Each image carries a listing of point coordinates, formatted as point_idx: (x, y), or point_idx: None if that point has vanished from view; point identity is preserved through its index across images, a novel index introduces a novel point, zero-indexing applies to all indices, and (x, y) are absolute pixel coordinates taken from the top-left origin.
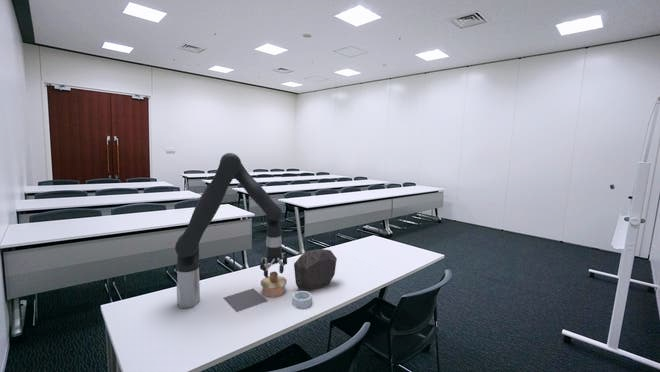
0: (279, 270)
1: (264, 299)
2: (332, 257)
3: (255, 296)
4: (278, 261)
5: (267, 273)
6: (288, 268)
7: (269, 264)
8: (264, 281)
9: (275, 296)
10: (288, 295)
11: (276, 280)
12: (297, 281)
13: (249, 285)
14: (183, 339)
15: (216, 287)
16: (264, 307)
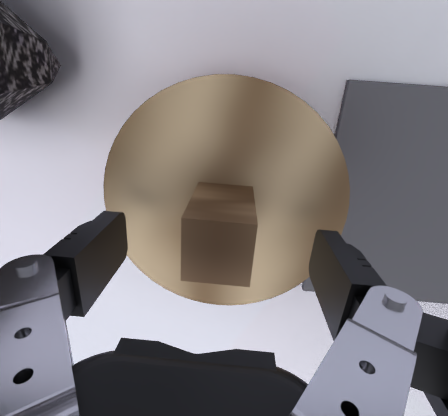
0: (118, 267)
1: (353, 121)
2: None
3: (364, 200)
4: (74, 375)
5: (345, 256)
6: None
7: (408, 383)
8: (289, 256)
9: None
10: (172, 58)
11: (209, 187)
12: (19, 41)
13: (289, 330)
14: None
15: (420, 403)
16: (429, 20)
